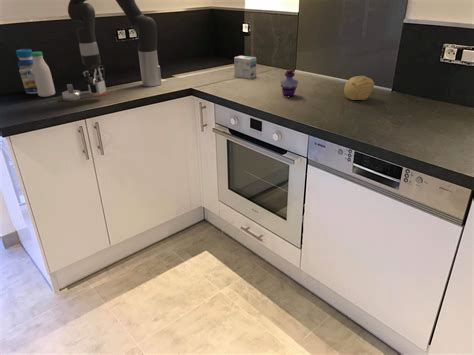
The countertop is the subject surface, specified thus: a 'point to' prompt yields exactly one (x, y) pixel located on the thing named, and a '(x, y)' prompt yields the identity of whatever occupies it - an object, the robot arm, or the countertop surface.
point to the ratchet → (78, 94)
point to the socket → (98, 87)
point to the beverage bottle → (26, 70)
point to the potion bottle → (289, 84)
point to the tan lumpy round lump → (358, 88)
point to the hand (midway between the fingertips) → (97, 90)
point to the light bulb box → (245, 67)
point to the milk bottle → (42, 75)
